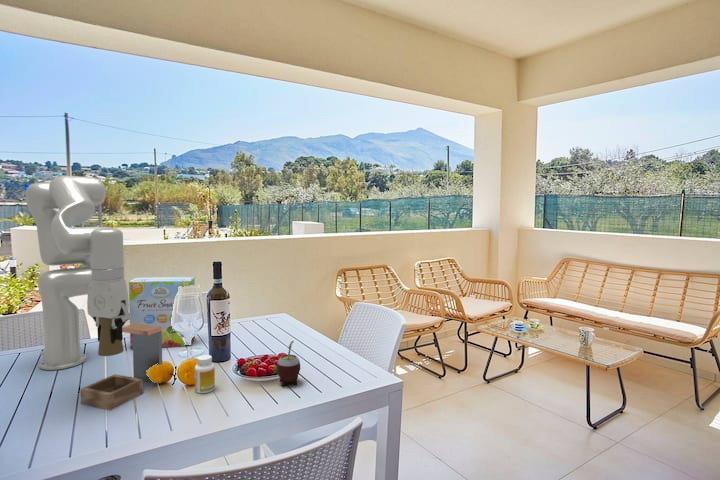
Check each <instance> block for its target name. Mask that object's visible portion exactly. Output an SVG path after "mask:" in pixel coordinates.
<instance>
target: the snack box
mask: <svg viewBox="0 0 720 480" xmlns="http://www.w3.org/2000/svg"><path fill="white" fill-rule="evenodd" d="M195 279H196V278H195V276H174V277H173V276H163V277H162V276H156V277H151V276H150V277H134V278H133V279H132V280H130V281H128V300H129V314H130V316H131V318H130V319H129V325H131V324H134V323H138V324H146V325H153V326H160V327H162V348H178V347H180V348H181V347H186V346H185V345H184V343H183V341H182V339H181V338H180V336H179V335H178V334H177V333H176V332H175V331H173V329H172V326H171V317H172V311H173V304H174V299H175V296H176V294H177V292H178V287H179V286H182V287H184V286H190V285H196V283H195ZM195 336H196V335H195ZM195 336H194V337H193V338H192V340H191V346H190V347H192V346H193V344H194V343H195V339H196V337H195ZM129 340H130V341H129V342H130V343H129V346H130V347H129V348H130V349H132V350H133V337H132V333H129Z"/></svg>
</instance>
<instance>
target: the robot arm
mask: <svg viewBox="0 0 720 480" xmlns="http://www.w3.org/2000/svg"><path fill="white" fill-rule="evenodd" d="M106 196H107V190H106V187H105V184H104V183H103V181H101V180H100V179H99V178H97V177H92V176H77V175H76V176H75V175H60V176H56V177H55V178H52V180H51V181H50V182H46V181H45V182H42V181H41V182H35V183H32V184H30V185H28V187H26V190H25V202H26V205H27V208H28V210H29V213H30V214H31V216H32V218H33V220H34V223H35V226H36V232H37V240H38V241H37V242H38V249H39V255H40V256H39V257H40V259H41V261H42V263H43V264H45V265H46V266H52V267H53V266H65V265H66V266H69V265H78V264H79V265H81V267H73V268H71V267H70V268H69V267H68V268H60V269H59V268H57V269H52V270H47V271H45V272H43V273H42V274H41V275H39V277H38V280H37V287H38V291H39V295H40V300H41V305H42V306H41V307H42V319H43V341H44V350H41V351H40V353H39V354H40V355H41V356H43V360H42V361H40V362H39V368H40V369H41V370H44V371H58V370H64V369H69V368H72V367H75V366H79V365H81V364H83V363H85V361H86V360H87V354H84V353H81V336H80V335H81V334H80V333H81V331H80V311H79V308H78V306H77V305H76V304H75V303H74V302H72V301H71V300H70V298H74V297H78V296H79V297H80V296H87V298H86V299H87V303H86V304H87V306H86V307H87V308H86V309H87V311H86V312H87V315H89V316H90V317H91V318H92V319H93V321H94V322H95V326H96V328H97V329H96V330H97V342H99V341H100V332H101V325H100V324H99V318H107V319H112V323H111V324H112V328H113V329H110V334H111V343H112V344H114V343H115V339H116V340H120V341H122V342H123V338H124V337H123V334H124V333H123V332H122V327H125V323H127V322H128V321H130V318H131V316H130V308H129V290H128V286H127V282H126V279H125V262H124V261H125V258H124V255H125V254H124V235H123V232H122V230H121V229H118V228H113V227H110V226H78V225H80V224H83V223H85V222H87V221H89V220H90V219H91V218H92V217H94V215H95V213H96V207H97V206H98V205H100V204H102V203H103V202H105V199H106ZM57 209H58V211H57ZM76 226H77V227H76ZM118 315H119V316H118ZM118 318H120V319H119V320H118V321H117V322H116V319H118Z"/></svg>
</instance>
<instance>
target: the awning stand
mask: <svg viewBox="0 0 720 480" xmlns="http://www.w3.org/2000/svg"><path fill="white" fill-rule="evenodd" d="M122 333H127V334H128V333H129V334H130V333H132V337H133V349H132V363H133V364H132V366H133V368H132V369H133V378H138V379H143V382H147V383H153V384H155V383H154V382H152V381H151V380H150V379H149V377H148V376H147V375H146V370H148V369H149V368H150V367H152V366H153V365H155V364H157V363H158V364H159V365H161V364H162V365H163V347H162V327H160V326H153V325H146V324H138V323H134V324H131V325H130V324H129V325H126V326H125V325H124V326H123V327H122ZM158 364H157V365H158Z"/></svg>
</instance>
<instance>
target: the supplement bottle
mask: <svg viewBox="0 0 720 480" xmlns="http://www.w3.org/2000/svg"><path fill="white" fill-rule="evenodd" d="M212 361H213V357H212V355H210V354H203V355H199V356H197V358H196V365H195V366H194V391H195V392H196V393H197V394H207V393H210V392H212V391H214V390H215V388H216V387H215V385H216V381H215V380H216V377H215V376H216V375H215V373H216V372H215V371H216V370H215V364H214V363H213V362H212Z"/></svg>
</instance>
